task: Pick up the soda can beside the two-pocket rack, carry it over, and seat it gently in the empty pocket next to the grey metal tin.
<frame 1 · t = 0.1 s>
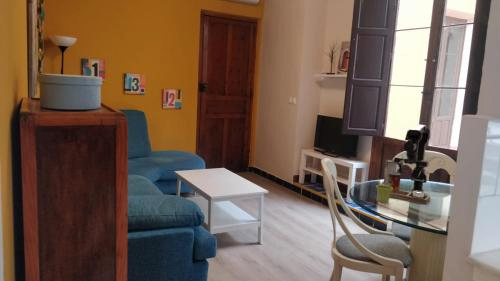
hand: (409, 175, 240), 15 cm above the table, tool pointing down, fingers open, 9 cm apart
rack: (408, 198, 246), on the table
tin: (417, 200, 243), resting in rack
coffee box: (388, 183, 281), on the table
soda can: (393, 191, 261), on the table
plant pot: (383, 201, 236), on the table
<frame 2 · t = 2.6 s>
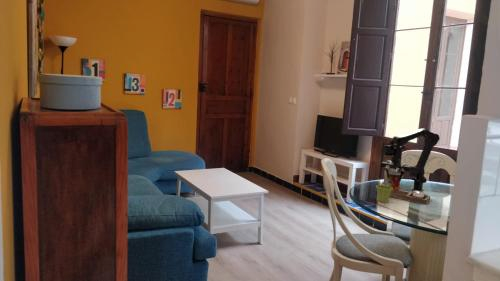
hand: (394, 179, 260), 8 cm above the table, tool pointing down, fingers closed on soda can, 7 cm apart
soda can: (393, 191, 261), on the table, touching gripper
everything else where it was.
when the fingers open (9 cm above the table, at t = 6.6 s): soda can drops 1 cm, resting in rack.
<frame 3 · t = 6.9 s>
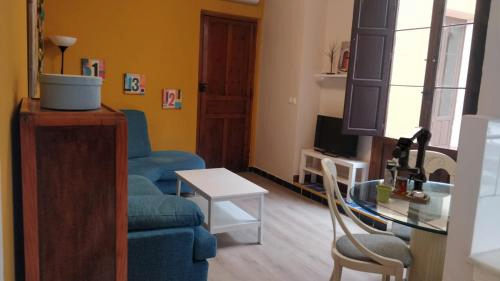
hand: (401, 182, 247), 9 cm above the table, tool pointing down, fingers open, 9 cm apart
soda can: (399, 196, 249), resting in rack
everything else where it was.
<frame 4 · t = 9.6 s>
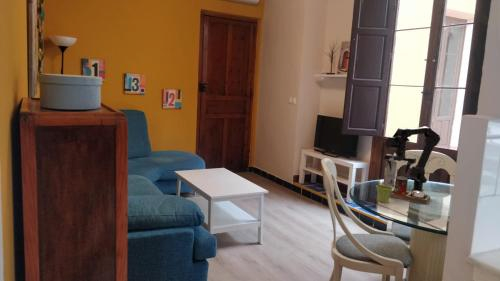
hand: (398, 171, 258), 13 cm above the table, tool pointing down, fingers open, 9 cm apart
nothing on the table moved.
at the end: soda can 0.1 cm from the target spot on the rack, point 0.0 cm above the rack's base; soda can tilted 0°; the gripper is holding nothing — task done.
